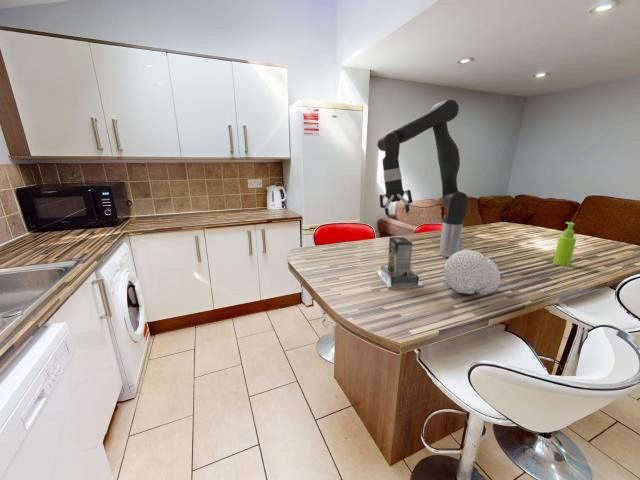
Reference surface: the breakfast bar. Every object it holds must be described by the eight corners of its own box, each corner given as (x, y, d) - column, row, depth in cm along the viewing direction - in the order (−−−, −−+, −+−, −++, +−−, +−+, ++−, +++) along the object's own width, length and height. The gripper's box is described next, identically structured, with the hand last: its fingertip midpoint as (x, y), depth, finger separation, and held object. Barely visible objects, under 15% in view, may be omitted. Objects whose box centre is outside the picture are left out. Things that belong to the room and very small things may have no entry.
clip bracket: (406, 271, 122) (406, 262, 121) (423, 287, 106) (424, 277, 105) (375, 272, 121) (376, 263, 120) (388, 289, 105) (388, 279, 104)
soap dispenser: (565, 262, 132) (576, 221, 126) (571, 266, 126) (582, 224, 120) (550, 260, 134) (560, 220, 129) (555, 265, 128) (565, 223, 123)
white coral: (467, 283, 89) (472, 238, 94) (429, 287, 105) (435, 249, 110) (511, 303, 94) (513, 259, 99) (468, 304, 110) (472, 266, 115)
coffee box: (386, 273, 117) (389, 237, 113) (401, 272, 118) (404, 236, 114) (394, 281, 109) (396, 243, 104) (409, 281, 109) (413, 242, 105)
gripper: (407, 176, 126) (411, 211, 129) (376, 182, 128) (381, 216, 131) (410, 176, 118) (414, 212, 122) (377, 182, 121) (382, 218, 124)
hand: (397, 214), depth 126 cm, fingers open, 8 cm apart
